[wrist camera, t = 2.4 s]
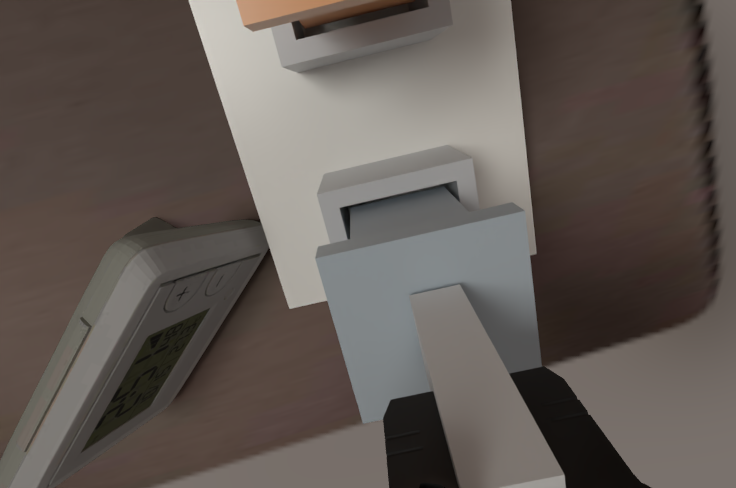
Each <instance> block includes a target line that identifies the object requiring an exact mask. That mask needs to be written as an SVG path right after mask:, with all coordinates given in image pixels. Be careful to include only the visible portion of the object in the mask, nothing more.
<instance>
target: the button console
mask: <svg viewBox="0 0 736 488" xmlns="http://www.w3.org/2000/svg"><path fill="white" fill-rule="evenodd" d="M189 3H190V6H191V9H192V12H193V15H194V18H195V21H196V25H197V28H198V31H199V34H200V37H201V40H202V43H203V46H204V49H205V52H206V55H207V58H208V61H209V64H210V67H211V70H212V73H213V77H214V80H215V83H216V86H217V89H218V92H219V95H220V98H221V101H222V104H223V107H224V110H225V113H226V116H227V119H228V122H229V125H230V129H231V132H232V135H233V138H234V141H235V144H236V147H237V150H238V153H239V156H240V159H241V162H242V165H243V168H244V171H245V174H246V177H247V181H248V184H249V187H250V190H251V193H252V196H253V199H254V202H255V205H256V208H257V211H258V214H259V217H260V220H261V223H262V226H263V229H264V233H265V236H266V239H267V242H268V245H269V248H270V251H271V254H272V257H273V260H274V263H275V266H276V269H277V272H278V275H279V278H280V281H281V285H282V288H283V291H284V294H285V297H286V300H287V303H288V306H289V309H291V308H296V307H300V306H305V305H309V304H314V303H318V302H323V301H327V298H326V294H325V291H324V287H323V284H322V280H321V277H320V273H319V270H318V267H317V263H316V260H315V257H316V252H317V248H318V246H322V245H327V244H331V243H336V242H340V241H344V240H349V239H350V210H351V207H355V206H360V205H364V204H368V203H373V202H377V201H381V200H386V199H390V198H394V197H399V196H403V195H407V194H412V193H416V192H420V191H425V190H429V189H433V188H438V187H442V186H444V187H445V188H446V189H447V190H448V191H449V192H450V193H451V194H452V195H453V196H454V197H455V198H456V199H457V200H458V201H459V202H460V203H461V204H462V205H463V206H464V207H465V208H466V209H467V210H468V212H472V211H476V210H480V209H485V208H489V207H493V206H498V205H502V204H507V203H511V202H513V203H514V204H516V205H517V206H519V207H520V208H522V209H523V210H525V215H526V224H527V233H528V243H529V252H530V255H534V254H537V252H536V242H535V232H534V223H533V213H532V203H531V193H530V183H529V174H528V164H527V154H526V144H525V134H524V125H523V115H522V105H521V95H520V85H519V76H518V66H517V56H516V46H515V36H514V27H513V17H512V7H511V0H415V1H414V2H410V3H406V4H402V5H398V6H394V7H390V8H386V9H382V10H378V11H374V12H370V13H366V14H362V15H358V16H354V17H350V18H346V19H342V20H338V21H334V22H330V23H326V24H322V25H318V26H314V27H310V28H306V29H305V28H304V27H303V25H302V24H301V23H300V21H299V20H298V21H294V22H290V23H286V24H282V25H278V26H274V27H270V28H266V29H262V30H258V31H254V32H253V31H251V30H249V29H248V28H246V27H245V26H243V22H242V19H241V16H240V12H239V9H238V5H237V2H236V0H189Z"/></svg>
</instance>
